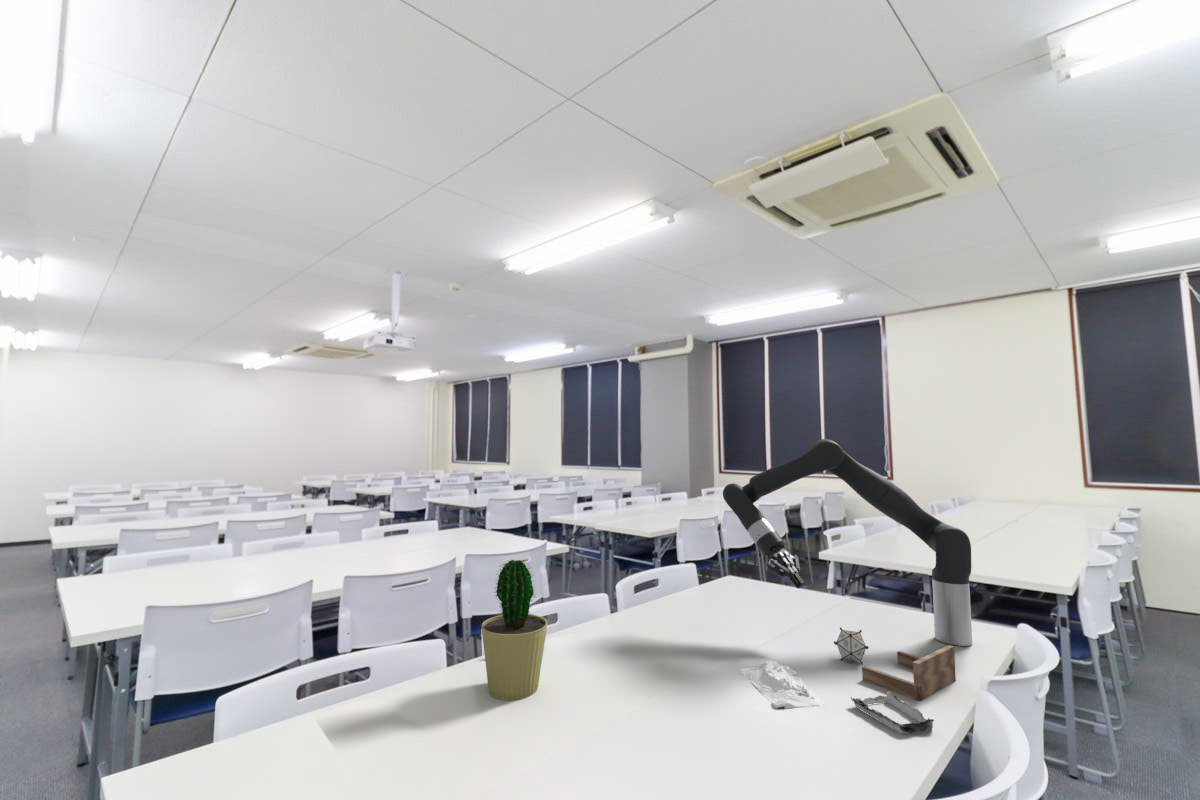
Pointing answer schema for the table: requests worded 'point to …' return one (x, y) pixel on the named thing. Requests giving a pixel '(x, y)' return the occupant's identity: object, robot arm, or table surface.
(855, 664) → the table surface
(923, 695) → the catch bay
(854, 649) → the game die
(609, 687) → the table surface
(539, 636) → the potted cactus
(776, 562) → the robot arm
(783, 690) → the terrain model
